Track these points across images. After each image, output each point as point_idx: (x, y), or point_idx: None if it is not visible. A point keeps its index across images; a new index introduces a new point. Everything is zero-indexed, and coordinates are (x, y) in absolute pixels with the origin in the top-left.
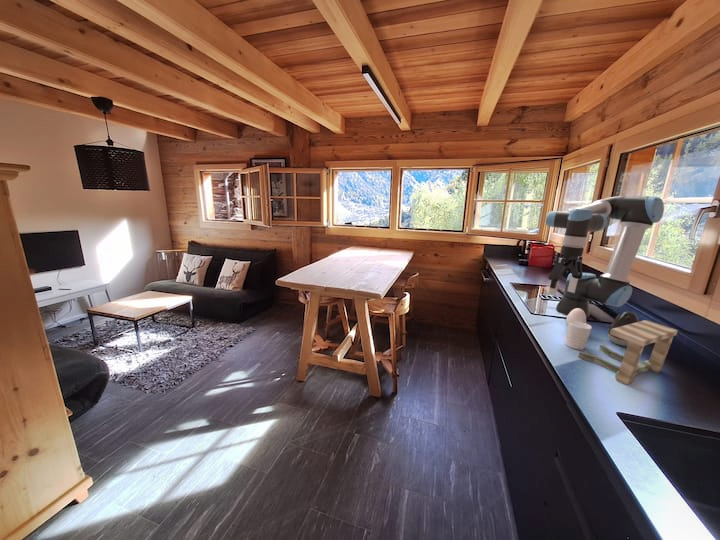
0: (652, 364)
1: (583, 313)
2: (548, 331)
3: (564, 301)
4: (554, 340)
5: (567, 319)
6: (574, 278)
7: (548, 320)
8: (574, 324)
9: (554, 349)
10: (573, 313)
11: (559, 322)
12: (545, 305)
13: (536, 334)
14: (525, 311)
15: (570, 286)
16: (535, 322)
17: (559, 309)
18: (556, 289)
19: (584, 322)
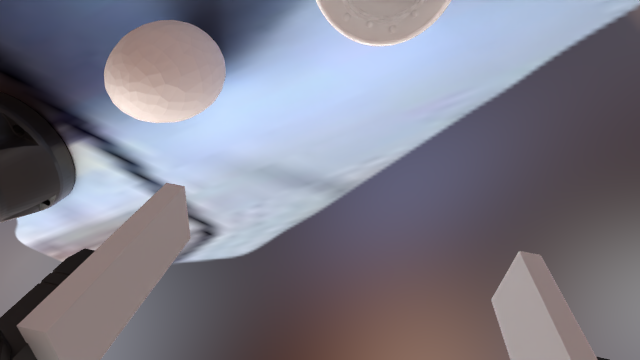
0: None
1: (135, 54)
2: (328, 121)
3: (16, 203)
4: (414, 59)
5: (209, 104)
6: (59, 356)
7: (205, 170)
8: (340, 18)
9: (542, 6)
10: (181, 98)
11: (174, 136)
12: (73, 234)
13: (421, 136)
14: (216, 252)
15: (155, 264)
16: (285, 190)
17: (65, 188)
18: (574, 328)
19: (167, 24)
